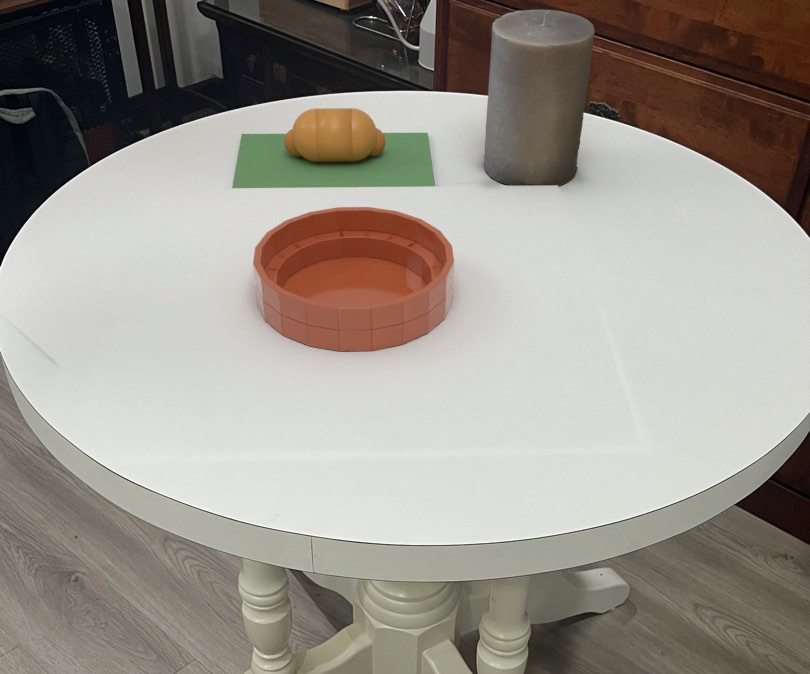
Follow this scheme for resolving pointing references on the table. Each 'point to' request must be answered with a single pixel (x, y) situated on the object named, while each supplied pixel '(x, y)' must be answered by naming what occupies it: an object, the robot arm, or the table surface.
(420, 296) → the terracotta round dish
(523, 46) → the pillar candle
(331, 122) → the croissant
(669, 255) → the table surface
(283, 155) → the cloth
